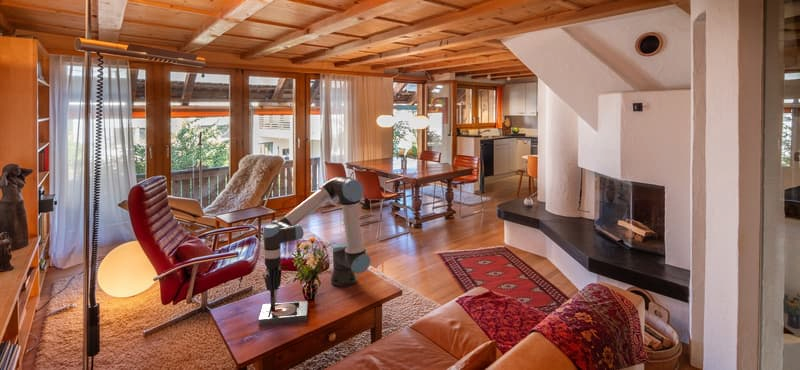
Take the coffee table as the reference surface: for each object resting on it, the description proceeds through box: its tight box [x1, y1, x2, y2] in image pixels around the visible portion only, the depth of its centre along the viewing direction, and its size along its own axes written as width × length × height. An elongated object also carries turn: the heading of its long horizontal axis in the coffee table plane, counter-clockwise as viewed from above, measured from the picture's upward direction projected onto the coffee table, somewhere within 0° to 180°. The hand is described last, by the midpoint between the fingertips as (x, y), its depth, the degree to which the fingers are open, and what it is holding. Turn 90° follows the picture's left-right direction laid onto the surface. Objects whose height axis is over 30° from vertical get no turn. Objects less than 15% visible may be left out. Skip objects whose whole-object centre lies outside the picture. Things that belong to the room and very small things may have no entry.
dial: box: [269, 296, 297, 317], centre depth 204 cm, size 12×12×9 cm
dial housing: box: [258, 300, 309, 327], centre depth 205 cm, size 22×16×4 cm
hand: (274, 302), depth 205 cm, fingers closed
